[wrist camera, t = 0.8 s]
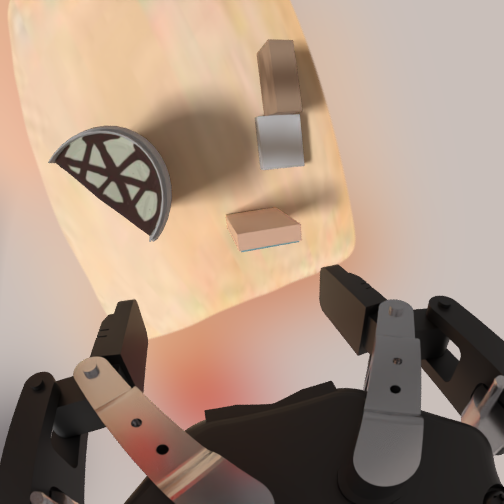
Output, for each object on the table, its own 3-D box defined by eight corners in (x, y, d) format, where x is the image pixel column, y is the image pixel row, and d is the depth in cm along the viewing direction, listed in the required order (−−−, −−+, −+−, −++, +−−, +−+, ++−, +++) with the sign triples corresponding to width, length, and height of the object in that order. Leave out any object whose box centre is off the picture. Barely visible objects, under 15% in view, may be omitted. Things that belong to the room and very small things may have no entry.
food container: (198, 175, 31) (202, 185, 22) (164, 218, 32) (155, 246, 23) (115, 110, 26) (86, 95, 17) (83, 155, 27) (43, 159, 18)
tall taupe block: (247, 54, 27) (257, 39, 23) (287, 53, 28) (302, 40, 23) (260, 169, 32) (272, 172, 28) (299, 165, 33) (317, 168, 28)
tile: (225, 214, 33) (237, 234, 26) (275, 207, 34) (300, 224, 27) (227, 229, 34) (239, 253, 27) (277, 221, 35) (301, 242, 27)
